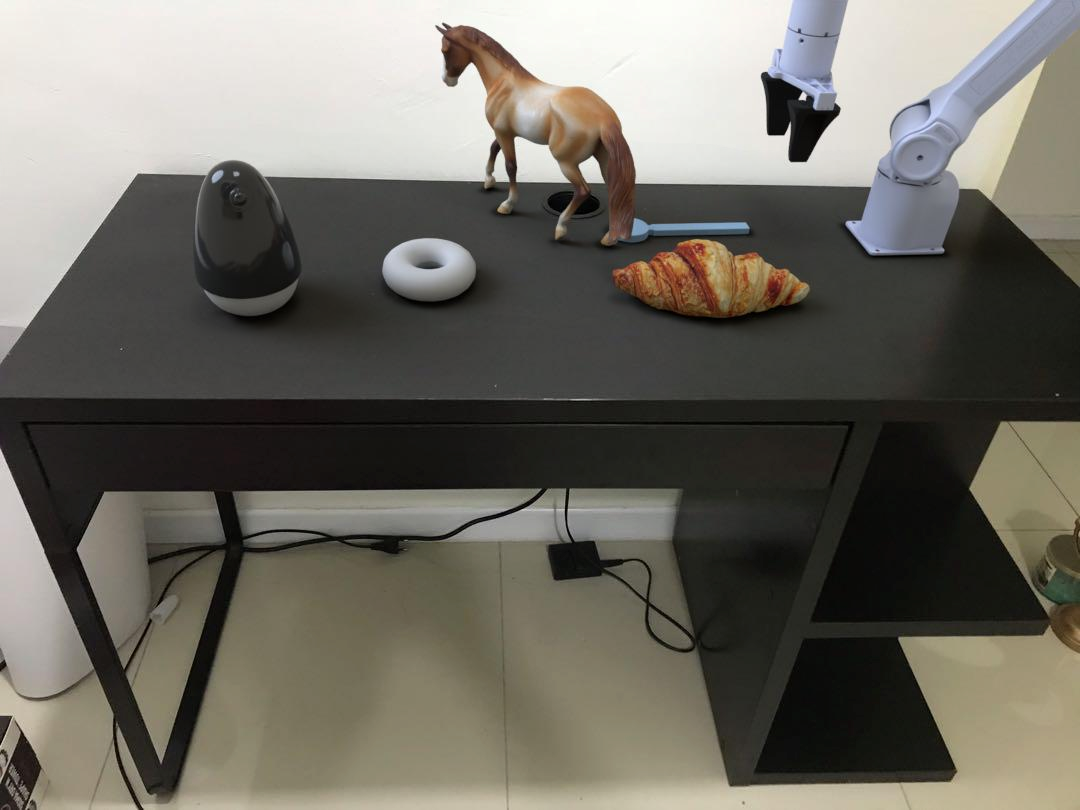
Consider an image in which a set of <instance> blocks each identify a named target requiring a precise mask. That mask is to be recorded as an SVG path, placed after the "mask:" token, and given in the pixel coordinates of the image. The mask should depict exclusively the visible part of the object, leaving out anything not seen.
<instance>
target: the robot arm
mask: <svg viewBox="0 0 1080 810" xmlns="http://www.w3.org/2000/svg"><path fill="white" fill-rule="evenodd" d="M848 2H849V0H792V3H791V7H790V12H789V17H788V22H787V25H786V30H785V36H784V40H783V45H782V48H774V50H773V55H772V60H771V66H769V67H768V69H767V71H762V72H761V74H760V80H761V83H762V86H763V91H764V95H765V97H764V98H765V110H766V112H765V113H766V114H765V116H766V118H765V119H766V120H765V121H766V134H767V135H768V136H769V137H771V136H772V137H775V136H776V137H779V136H785V135H786V134H787V131H788V130H789V127H790V132H789V133H790V134H789V142H788V152H787V154H788V155H787V156H788V157H787V159H788V161H789V162H790V163H807V162H808V161H809V159H810V157H811V156H812V154H813V151H814V150H815V148H816V146H817V144H818V142H819V141H820V139H821V138H822V136H823V134H824V133H825V131H826V130H827V129H828V127H829V126H830V125H831V124H832V123H833V122H834V121H835V119H836V118H837V117H839V116H840V113H841V110H842V107H841V106H840V105H838V104H837V102H836V99H837V95H838V92H837V91H836V90H835V88H834V80H833V73H832V68H833V64H834V60H835V55H836V51H837V47H838V44H839V40H840V36H841V31H842V28H843V23H844V19H845V14H846V11H847V7H848ZM1079 29H1080V0H1033V2H1032V3H1030V4H1029V6H1028V7H1026V8H1025V10H1024V11H1022V12H1021V13H1020V14H1019V15H1018V16H1017V17H1016V18H1015V19H1014V20H1013V21H1012V22H1011V23H1009V24H1008V25H1007V27H1006V28H1004V30H1002V31H1001V32H1000V33H999V34H998V35H997V36H996V37H995V38H994V39H993V40H992V41H991V42H990V43H988V45H987V46H985V48H984V49H982V50H981V51H980V52H979V53H978V54H977V55H976V56H974V58H973V59H972V60H970V61H969V63H968V64H967V65H965V66H964V68H962V69H961V70H960V71H959V72H958V73H956V75H955V76H954V77H953V78H952V79H951V80H950V81H949V82H947V83H945V84H943V85H940V86H937V87H935V88H934V89H932V90H931V91H930V92H929V93H928V94H927V95H925V97H923V98H921V99H919V100H918V101H916V102H912V103H910V104H908V105H907V104H906V106H904V107H902V108H901V109H900V110H898V111H897V113H896V114H895V115H894V117H893V118H892V120H891V123H890V125H889V139H890V150H889V151H888V152H887V153H886V154H885V155H883V157H881V158H880V159H879V161H878V164H877V167H876V171H875V174H874V177H873V180H872V184H871V187H870V191H869V193H868V197H867V200H866V204H865V207H864V210H863V214H862V217H861V220H847V221H846V222H845V226H846V228H847V229H848V230H849V231H850V232H851V234H852V235H853V236H854V237H855V238H856V240H857V241H858V243H860V245H861V246H862V247H863V248H864V249H865V251H866V252H867V253H868V254H869V255H870V256H874V257H875V256H906V255H908V256H912V255H913V256H915V255H942V254H944V253H945V249H944V248H943V244H944V241H945V239H946V236H947V234H948V230H949V228H950V225H951V223H952V220H953V217H954V215H955V213H956V210H957V207H958V203H959V199H960V186H959V181H958V178H957V176H956V175H955V174H954V173H953V172H952V171H950V170H946V169H947V168H948V166H949V164H950V162H951V160H952V157H953V155H954V154H955V152H956V151H957V150H958V149H959V148H960V147H961V146H962V145H963V144H964V143H965V142H966V141H967V140H968V138H969V137H970V135H971V133H972V131H973V129H974V128H975V126H976V124H977V122H978V121H979V119H980V118H981V117H982V116H983V115H984V114H985V113H987V112H988V111H989V110H990V109H991V108H992V107H994V105H996V103H998V102H999V101H1000V100H1001V99H1002V98H1003V97H1004V96H1006V95H1007V94H1008V93H1009V92H1010V91H1011V90H1012V89H1013V88H1014V87H1016V85H1018V84H1019V83H1020V82H1021V81H1022V80H1023V79H1025V77H1027V75H1029V74H1030V73H1031V72H1032V71H1033V70H1034V69H1035V68H1037V67H1038V66H1039V65H1040V64H1042V62H1043V61H1045V59H1047V58H1048V57H1049V56H1050V55H1051V54H1052V53H1054V52H1055V50H1057V49H1058V48H1059V47H1060V46H1062V44H1063V43H1065V42H1066V41H1067V40H1068V39H1069V38H1070V37H1071V36H1072V35H1073V34H1075V33H1076V32H1077V31H1078V30H1079ZM803 93H804V94H805V95H806V96H805V99H800V98H801V96H802V94H803Z"/></svg>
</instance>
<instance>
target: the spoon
mask: <svg viewBox="0 0 1080 810" xmlns="http://www.w3.org/2000/svg"><path fill="white" fill-rule="evenodd" d="M750 230H751V228H750V226H749V225H748V224H747V222H741V221H740V222H698V223H697V222H696V223H695V222H693V223H691V222H689V223H651V224H647V222H646V221H644V220H642V219H639V218H635V217H634V224H633V230H632V235H631V237H630V239H625V240H622V239H621V238H619V239H618V241H620V242H623V243H631V244H632V243H634V244H635V243H640V242H643V241H646V239H647V238H648V237H649V236H653V237H669V236H671V237H672V236H674V237H675V236H678V237H679V236H716V235H717V236H719V235H720V236H721V235H749V234H750Z"/></svg>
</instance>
